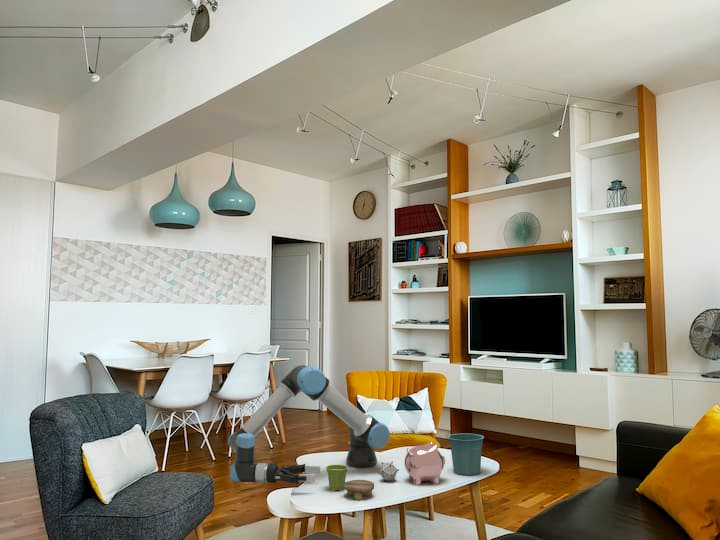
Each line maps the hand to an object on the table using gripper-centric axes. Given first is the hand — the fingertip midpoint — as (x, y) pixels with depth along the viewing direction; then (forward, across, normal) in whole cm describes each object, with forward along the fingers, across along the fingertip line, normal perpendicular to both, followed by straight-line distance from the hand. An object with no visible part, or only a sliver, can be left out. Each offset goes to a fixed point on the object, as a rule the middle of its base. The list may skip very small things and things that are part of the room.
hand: (317, 473), depth 229 cm
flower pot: (+64, -30, -6) cm, 71 cm away
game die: (+29, -13, -6) cm, 32 cm away
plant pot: (+8, 0, -6) cm, 10 cm away
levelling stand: (+18, +9, -6) cm, 21 cm away
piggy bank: (+45, -14, -6) cm, 48 cm away
